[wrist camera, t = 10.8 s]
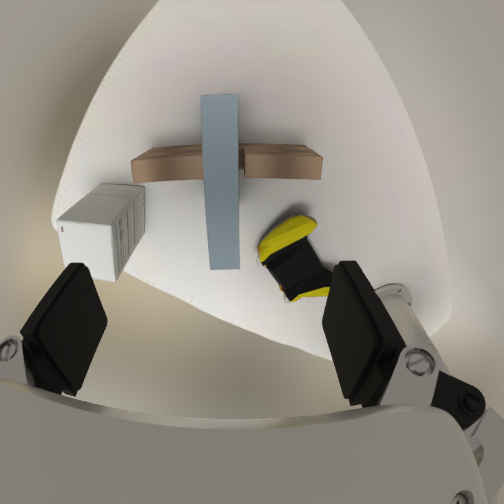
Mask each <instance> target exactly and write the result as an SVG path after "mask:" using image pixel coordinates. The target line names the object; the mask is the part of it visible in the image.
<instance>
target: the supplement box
mask: <svg viewBox="0 0 504 504" xmlns="http://www.w3.org/2000/svg"><path fill="white" fill-rule="evenodd" d="M144 208H145V187H140V186H128V185H113V184H101V185H99V186H98V187H97V188H95V189H94V190H93V191H91V192H90V193H89V194H87V195H86V196H85V197H84V198H82V199H81V200H80V201H78V202H77V203H76V204H75V205H73V206H72V207H71V208H70V209H69V210H67V211H66V212H65V213H64V214H63V215H61V216H60V217H59V218H58V219H57V220H56V222H57V229H58V235H59V241H60V246H61V250H62V256H63V260H64V265H65V268H66V267H67V266H68V265H69V264H70V263H72V262H75V263H84V264H85V265H86V266H87V267H88V268H89V270H90V273H91V276H92V278H93V279H99V280H105V281H111V282H116V281H117V279H118V277H119V275H120V274H121V272H122V270H123V269H124V267H125V265H126V263H127V261H128V260H129V258H130V256H131V254H132V253H133V251H134V249H135V248H136V246H137V244H138V243H139V241H140V239H141V238H142V236H143V234H144V233H145V230H144Z"/></svg>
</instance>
